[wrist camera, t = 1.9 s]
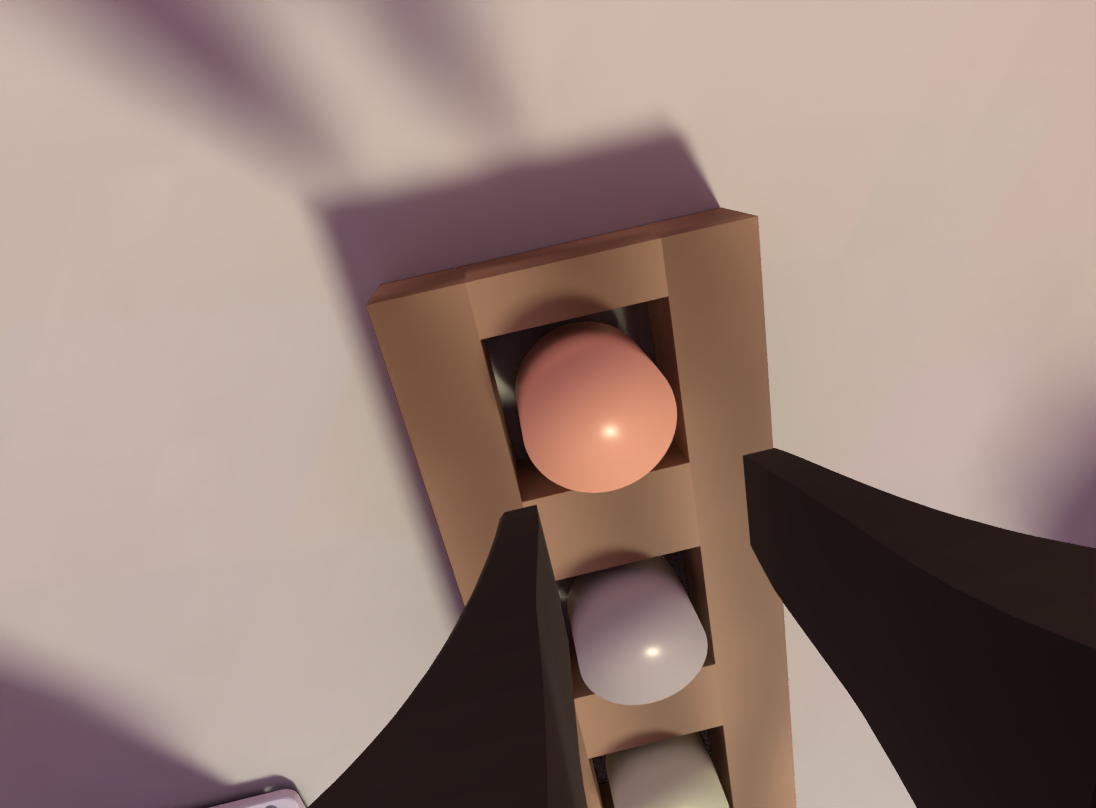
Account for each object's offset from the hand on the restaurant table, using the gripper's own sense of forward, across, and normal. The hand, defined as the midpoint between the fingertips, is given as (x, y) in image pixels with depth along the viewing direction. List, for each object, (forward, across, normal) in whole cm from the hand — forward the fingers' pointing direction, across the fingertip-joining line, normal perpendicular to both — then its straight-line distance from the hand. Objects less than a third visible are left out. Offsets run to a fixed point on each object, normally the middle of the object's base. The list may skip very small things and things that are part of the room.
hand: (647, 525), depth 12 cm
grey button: (+7, 0, +8) cm, 11 cm away
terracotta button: (+7, 0, 0) cm, 7 cm away
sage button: (+7, 0, +16) cm, 18 cm away
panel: (+8, 0, +8) cm, 12 cm away
